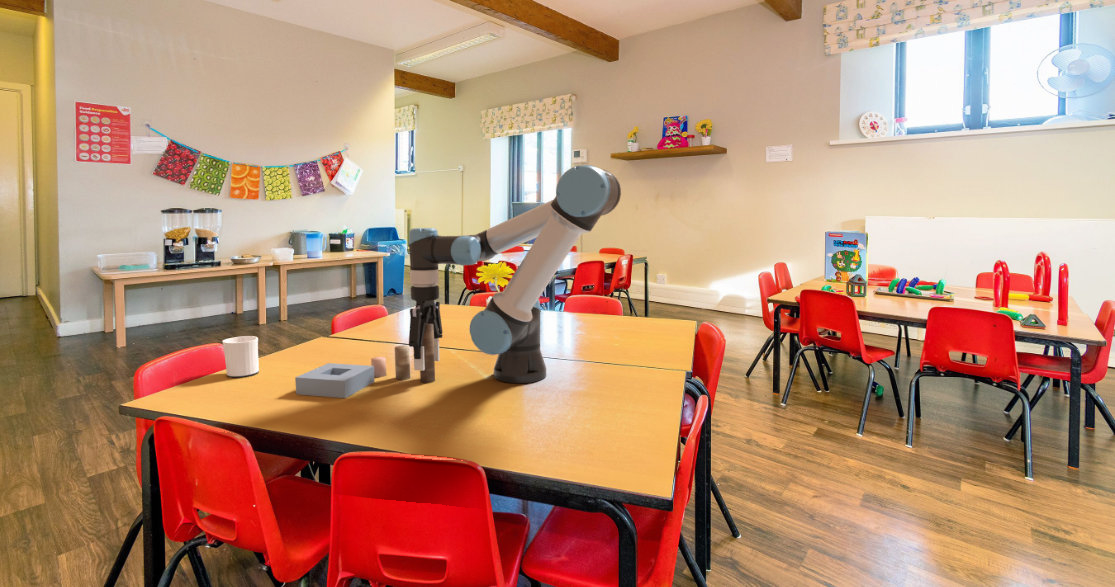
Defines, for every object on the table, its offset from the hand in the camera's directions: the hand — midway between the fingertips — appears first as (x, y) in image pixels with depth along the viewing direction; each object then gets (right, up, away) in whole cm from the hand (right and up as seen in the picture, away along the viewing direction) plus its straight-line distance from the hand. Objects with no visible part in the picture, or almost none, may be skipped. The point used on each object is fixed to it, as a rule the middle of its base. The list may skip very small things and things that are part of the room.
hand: (427, 365), depth 151 cm
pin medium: (-8, -4, +3) cm, 9 cm away
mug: (-56, -4, +7) cm, 56 cm away
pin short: (-15, -4, +6) cm, 17 cm away
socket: (-23, -5, -6) cm, 24 cm away
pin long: (0, -4, +1) cm, 4 cm away
